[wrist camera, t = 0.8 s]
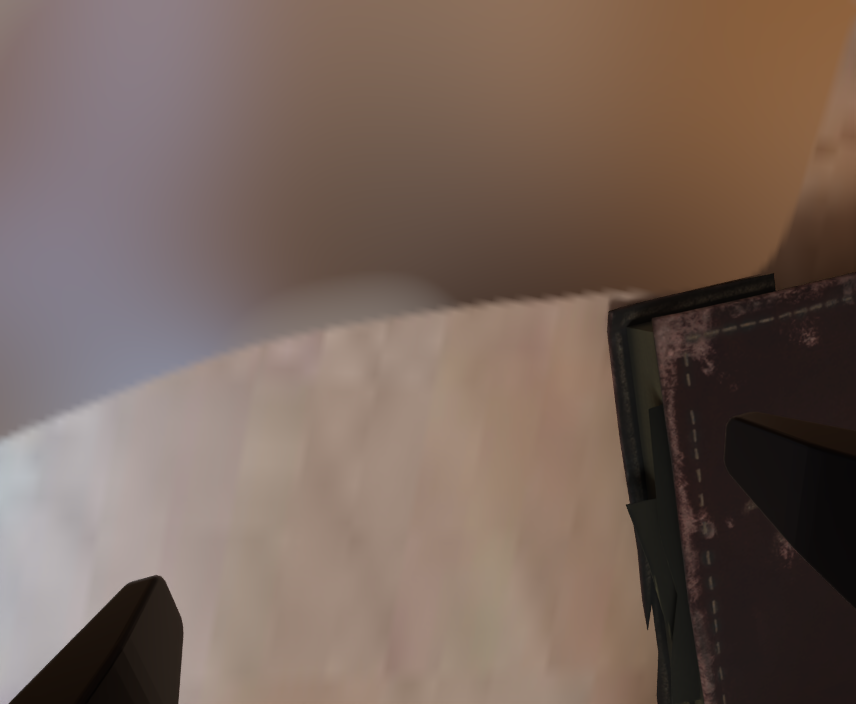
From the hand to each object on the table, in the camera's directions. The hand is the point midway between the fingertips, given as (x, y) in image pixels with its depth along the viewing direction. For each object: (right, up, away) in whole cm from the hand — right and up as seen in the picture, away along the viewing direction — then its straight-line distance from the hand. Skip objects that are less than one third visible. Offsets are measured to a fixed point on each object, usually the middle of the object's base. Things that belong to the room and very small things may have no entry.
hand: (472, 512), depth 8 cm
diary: (+18, -6, +20) cm, 27 cm away
